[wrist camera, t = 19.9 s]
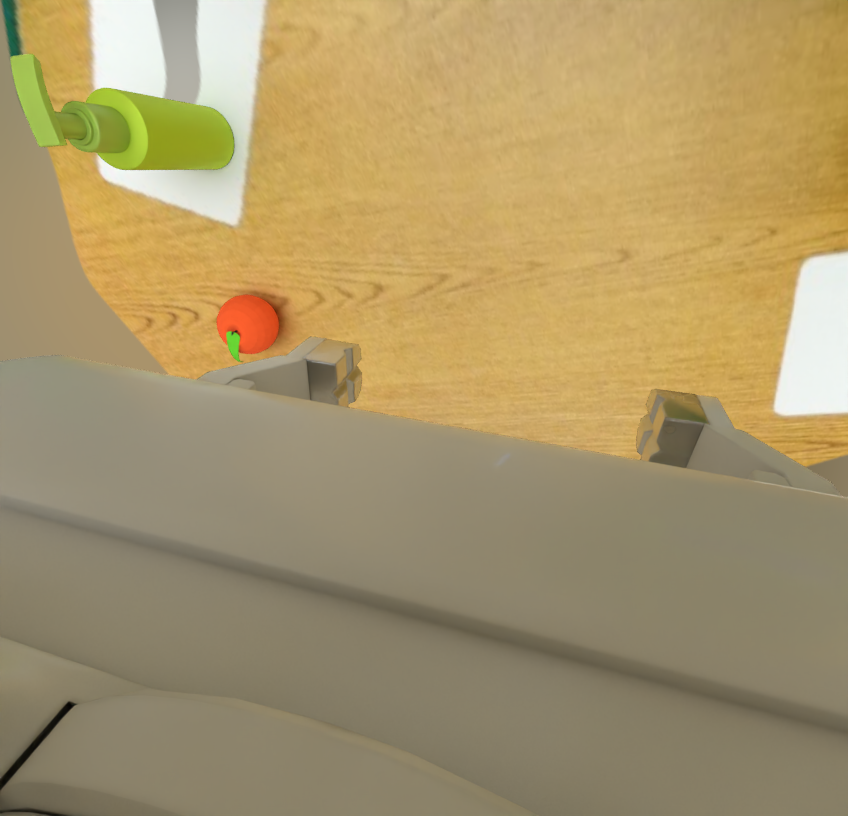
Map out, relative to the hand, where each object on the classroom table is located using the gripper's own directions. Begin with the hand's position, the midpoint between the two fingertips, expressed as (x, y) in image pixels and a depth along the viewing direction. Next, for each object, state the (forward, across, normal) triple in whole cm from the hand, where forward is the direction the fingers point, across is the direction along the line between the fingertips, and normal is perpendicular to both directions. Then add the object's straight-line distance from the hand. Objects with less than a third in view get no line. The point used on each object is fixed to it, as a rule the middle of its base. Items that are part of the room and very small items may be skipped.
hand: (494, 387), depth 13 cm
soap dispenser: (+38, +36, -4) cm, 53 cm away
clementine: (+37, +32, +16) cm, 52 cm away
